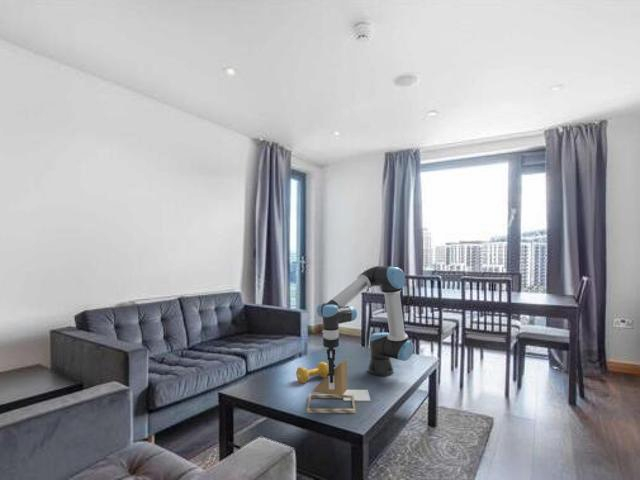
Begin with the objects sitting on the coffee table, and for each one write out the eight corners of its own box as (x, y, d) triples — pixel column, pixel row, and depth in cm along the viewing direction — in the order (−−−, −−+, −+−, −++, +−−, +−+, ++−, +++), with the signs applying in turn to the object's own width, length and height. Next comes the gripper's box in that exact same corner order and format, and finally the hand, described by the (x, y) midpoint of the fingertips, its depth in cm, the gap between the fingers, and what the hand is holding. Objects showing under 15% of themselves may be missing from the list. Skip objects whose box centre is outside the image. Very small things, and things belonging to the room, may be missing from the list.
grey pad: (367, 391, 189) (367, 389, 189) (370, 401, 176) (370, 400, 176) (342, 390, 189) (342, 389, 189) (343, 401, 176) (343, 400, 176)
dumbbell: (303, 385, 197) (303, 370, 197) (294, 380, 205) (294, 366, 205) (330, 378, 208) (330, 363, 208) (321, 373, 216) (321, 360, 216)
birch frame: (353, 397, 181) (353, 394, 181) (355, 413, 164) (355, 409, 164) (309, 397, 182) (309, 394, 182) (306, 412, 165) (306, 409, 165)
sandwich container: (317, 385, 180) (317, 354, 181) (347, 389, 175) (347, 357, 175) (311, 391, 172) (310, 359, 173) (341, 396, 167) (341, 363, 167)
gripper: (323, 332, 184) (324, 376, 184) (322, 344, 163) (323, 394, 162) (338, 332, 184) (339, 376, 184) (339, 344, 162) (340, 394, 162)
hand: (331, 384), depth 173 cm, fingers closed on sandwich container, 9 cm apart
